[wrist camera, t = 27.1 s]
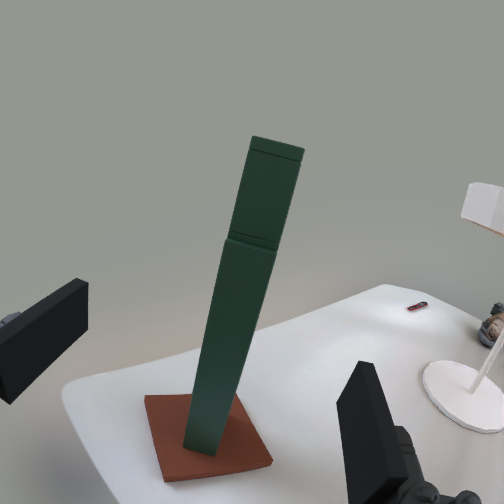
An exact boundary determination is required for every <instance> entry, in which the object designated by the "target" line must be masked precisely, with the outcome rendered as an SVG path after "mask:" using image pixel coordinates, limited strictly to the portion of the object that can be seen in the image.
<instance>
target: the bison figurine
mask: <svg viewBox="0 0 504 504" xmlns="http://www.w3.org/2000/svg"><path fill="white" fill-rule="evenodd" d="M490 314H492V317H491V318H488V319H487V320H486V321H485V322H482V326H481V328H480V329H479V330H478V334H479V339H480V340H481V342H483V343H484V344H485V345H487V346H489V347H492V346H494V345H495V343H496V341H497V339H498V337H499V335H500V333H501V331H502V329H503V327H504V305H503V304H502V303H501V302H499V303H497V304H494V307H493V308H492V311H491V313H490Z"/></svg>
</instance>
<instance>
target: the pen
mask: <svg viewBox="0 0 504 504" xmlns="http://www.w3.org/2000/svg"><path fill="white" fill-rule="evenodd" d="M422 303H423V304H422ZM424 304H426V305H428V304H427V302H421V303H419V304H416V305H414V306H411V307H408V308H407V309H408V310H415V309H418V308H420V307H423V306H426V305H424ZM413 307H415V308H413ZM410 308H413V309H410Z"/></svg>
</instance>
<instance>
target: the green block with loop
mask: <svg viewBox="0 0 504 504" xmlns="http://www.w3.org/2000/svg"><path fill="white" fill-rule="evenodd" d="M304 151H305V149H304V148H300V147H297V146H293V145H290V144H286V143H282V142H277V141H274V140H270V139H266V138H262V137H257V136H252V138H251V142H250V146H249V150H248V154H247V158H246V162H245V166H244V170H243V174H242V178H241V182H240V186H239V190H238V194H237V199H236V203H235V207H234V211H233V215H232V219H231V224H230V228H229V233H228V236H227V237H228V238H227V239H226V240H225V243H224V247H223V252H222V256H221V260H220V265H219V269H218V274H217V279H216V283H215V287H214V292H213V296H212V301H211V306H210V311H209V315H208V320H207V324H206V330H205V334H204V339H203V343H202V348H201V353H200V358H199V363H198V368H197V373H196V378H195V383H194V388H193V393H192V398H191V403H190V408H189V414H188V419H187V424H186V430H185V435H184V441H183V446H182V447H183V448H187V449H190V450H193V451H196V452H200V453H203V454H207V455H210V456H214V457H215V456H216V453H217V450H218V447H219V443H220V440H221V437H222V434H223V431H224V428H225V425H226V422H227V419H228V415H229V412H230V409H231V406H232V403H233V400H234V396H235V393H236V390H237V387H238V384H239V380H240V377H241V374H242V371H243V367H244V364H245V361H246V358H247V354H248V351H249V348H250V344H251V341H252V338H253V334H254V331H255V328H256V324H257V321H258V318H259V314H260V311H261V307H262V304H263V301H264V297H265V294H266V290H267V287H268V283H269V279H270V276H271V273H272V270H273V266H274V262H275V259H276V255H277V250H278V247H279V243H280V240H281V236H282V232H283V229H284V225H285V222H286V218H287V214H288V211H289V207H290V204H291V200H292V196H293V193H294V189H295V185H296V181H297V178H298V174H299V170H300V166H301V161H302V159H303V155H304Z"/></svg>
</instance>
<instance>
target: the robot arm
mask: <svg viewBox="0 0 504 504" xmlns="http://www.w3.org/2000/svg"><path fill="white" fill-rule="evenodd" d="M87 330H88V282H85V281H83V280H80V279H78V278H75V279H74V280H72V281H71V282H69V283H67V284H66V285H64V286H63V287H61V288H60V289H58V290H56V291H55V292H53V293H52V294H50V295H49V296H47V297H46V298H44V299H42V300H41V301H39V302H38V303H36V304H35V305H33V306H32V307H30V308H29V309H27V310H26V311H24V312H23V313H20V312H17V313H13V314H10V315H8V316H7V317H5V318H3V319H2V320H1V321H0V398H1V399H2V400H4V401H5V402H6V403H8V404H9V405H10V404H11V403H12V402H13V401H14V400H15V399H16V398H17V397H18V396H19V395H20V394H21V393H22V392H23V391H24V390H25V389H26V388H27V387H28V386H29V385H30V384H31V383H32V382H33V381H34V380H35V379H36V378H37V377H38V376H39V375H41V373H43V372H44V371H45V370H46V369H47V368H48V367H49V366H50V365H51V364H52V363H53V362H54V361H55V360H56V359H57V358H58V357H59V356H60V355H61V354H62V353H63V352H64V351H66V349H68V348H69V347H70V346H71V345H72V344H73V343H74V342H75V341H76V340H77V339H78V338H79V337H81V336H82V335H83V334H84V333H85V332H86V331H87ZM336 405H337V412H338V419H339V426H340V433H341V441H342V448H343V456H344V465H345V473H346V483H347V492H348V502H349V504H481V500H480V498H479V496H478V495H477V494H476V493H474V492H472V491H467V490H465V491H462V492H461V493H460V494H458V495H457V496H456V497H450V496H445V495H440V494H439V492H438V490H437V488H436V487H435V486H434V485H432V484H431V483H429V482H426V481H425V480H424V477H423V474H422V471H421V467H420V464H419V461H418V458H417V455H416V454H415V449H414V447H413V443H412V440H411V437H410V435H409V433H408V432H407V431H406V430H405V428H404V427H403V426H394V423H393V420H392V417H391V414H390V411H389V408H388V405H387V402H386V399H385V396H384V393H383V390H382V387H381V384H380V381H379V378H378V375H377V373H376V370H375V367H374V364H373V363H369V362H364V361H358V363H357V365H356V367H355V369H354V371H353V373H352V375H351V377H350V379H349V380H348V382H347V384H346V386H345V388H344V390H343V392H342V393H341V395H340V397H339V399H338V401H337V402H336Z"/></svg>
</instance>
